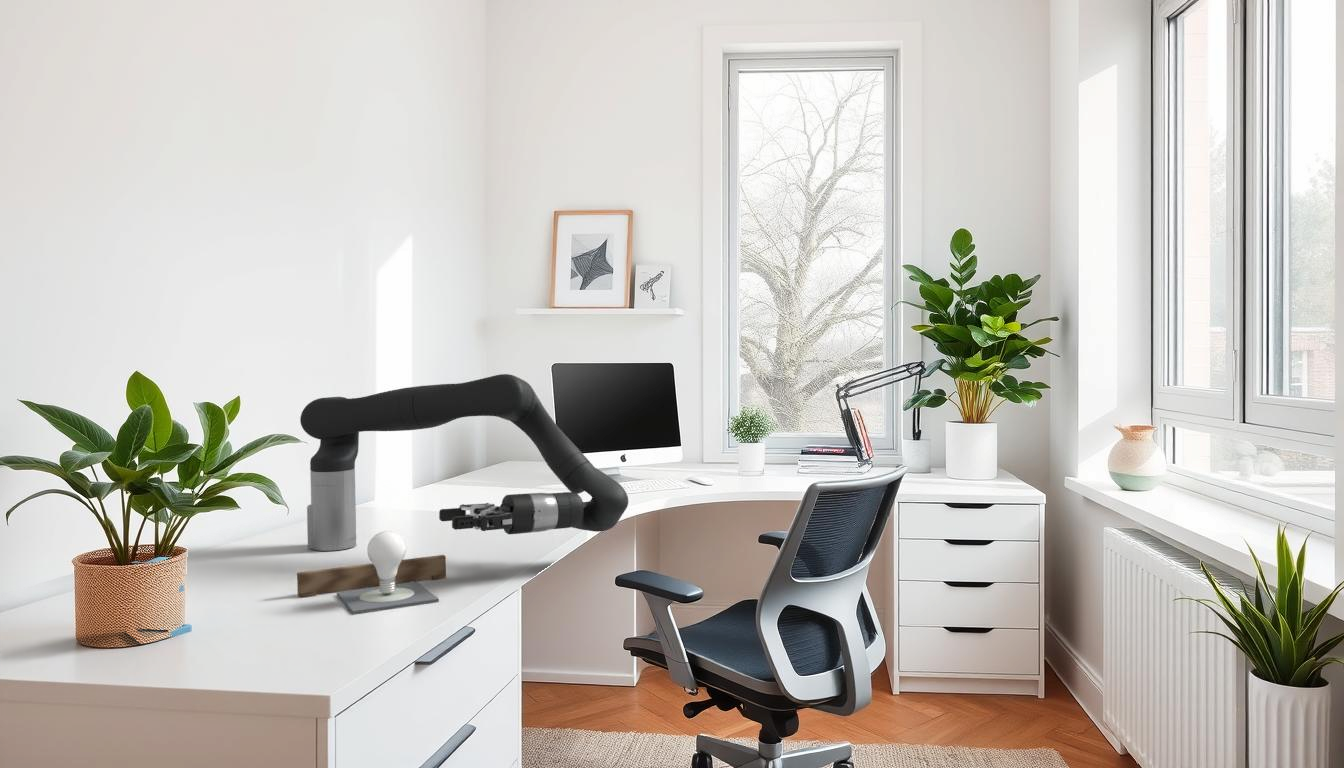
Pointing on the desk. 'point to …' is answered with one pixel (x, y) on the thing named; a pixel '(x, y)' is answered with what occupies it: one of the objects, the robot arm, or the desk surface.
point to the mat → (386, 598)
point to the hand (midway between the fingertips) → (446, 519)
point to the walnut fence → (367, 576)
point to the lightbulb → (386, 558)
